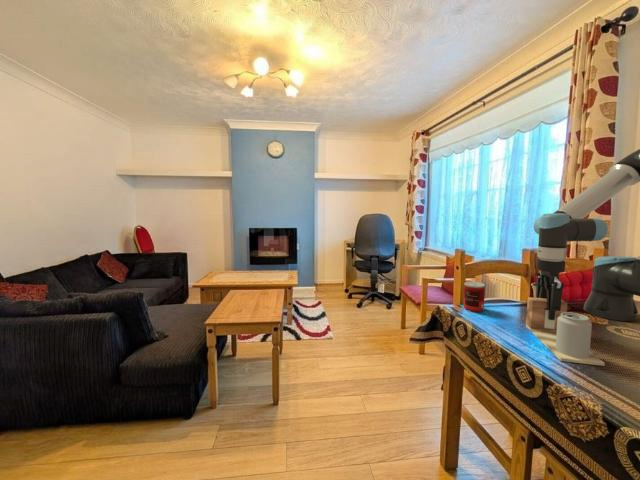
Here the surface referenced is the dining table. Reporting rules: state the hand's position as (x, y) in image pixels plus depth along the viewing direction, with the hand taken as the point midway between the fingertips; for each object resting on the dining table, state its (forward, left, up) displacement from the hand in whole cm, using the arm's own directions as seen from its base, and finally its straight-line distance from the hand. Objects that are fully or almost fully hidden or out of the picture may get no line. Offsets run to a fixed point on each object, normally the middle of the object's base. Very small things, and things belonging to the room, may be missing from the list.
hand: (545, 324), depth 100 cm
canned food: (+19, -17, -2) cm, 26 cm away
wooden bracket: (0, +10, -2) cm, 10 cm away
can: (0, +17, -2) cm, 17 cm away
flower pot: (-11, -29, -2) cm, 31 cm away
